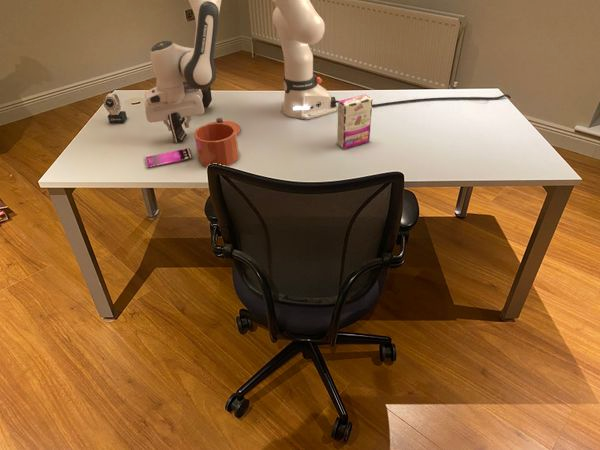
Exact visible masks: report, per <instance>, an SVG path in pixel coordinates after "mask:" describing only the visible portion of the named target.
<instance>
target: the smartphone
mask: <svg viewBox="0 0 600 450" xmlns="http://www.w3.org/2000/svg"><path fill="white" fill-rule="evenodd" d="M192 159H193V155H192V152H191V149H190V148H189V147H187V148H182V149H178V150H177V149H176V150H173V151H168V152H164V153H163V152H162V153H158V154H153V155H149V156H145V160H146V166H147V168H149V169H150V168H154V167H159V166H164V165H168V164H174V163H178V162H183V161H187V160H192Z"/></svg>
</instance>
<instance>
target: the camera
mask: <svg viewBox="0 0 600 450" xmlns="http://www.w3.org/2000/svg"><path fill="white" fill-rule="evenodd" d="M183 86H184V90H188V89H194V88H192V87H190V86H189V85H188V83H187V82H186V81H183ZM201 91H202V94H203V98H202V103H203V106H204V109H208V108H209V107H210V105H211V103H212V101H213V97H212V89H211V86H210V87H208V88H206V89H203V90H201Z"/></svg>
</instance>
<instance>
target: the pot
mask: <svg viewBox="0 0 600 450" xmlns="http://www.w3.org/2000/svg"><path fill="white" fill-rule="evenodd" d="M210 123H211V124H209V123H207V124H204V125H202V126H199V127H198V128H196V129H195V131H194V133H193V136H194V141H195V146H196V147H195V148H196V152H197V158H198V161H199V163H200V164H201V165H203V166H205V167H208V165H209V164H213V163H217V164H221V165H225V166H224V167H227V166H230V165H232V164H234V163H235V162H237V160H238V159H239V155H240V152H239V151H240V150H239V144H238V137H237V136H238V134H237V135H236V129H235V128H234V127H233V126H232V125H230V124H226V123H212V122H210Z"/></svg>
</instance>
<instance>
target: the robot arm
mask: <svg viewBox="0 0 600 450" xmlns="http://www.w3.org/2000/svg"><path fill="white" fill-rule="evenodd" d="M271 1H272V2H273V4H274V5H275V6H276V7H275V8H274V10H273V13H272V23H273V25H274V27H275V29H276V32H277V35H278V39H279V42H280V43H279V44H280V47H281V50H282V55H283V67H284V75H283V91H284V97H283V103H282V104H283V105H282V109H281V111H282V113H283V114H284V115H285V116H287V117H290V118H295V119H296V118H298V119H302V120H308V121H309V120H311V119H314V118H318V117H321V116H325V115H328V114H332V113H334V112H338V105H337V104H338V101H339V100H336V97H335V96H331V94H330V92H329V91H328V90H327V89H326V88H325V87H323V86H322V85H320V84H322V82H323V79H322V78H321V77H319V76H317V75H316V74H314V55H313V52H312V50H311V48H310V45H316V44H318V43H319V42H320V41H321V40H322V39H323V37H324V35H325V32H326V24H325V22H324V19H323V18H322V17H321V16H320V14H318V12H317V11H316V9H315V7H314V6H313V4H312V2H311V0H271ZM188 3H189V5H190V7H191V10H192V13H193V16H194V20H195V35H194V45H193V47H187V46H182V45H180V44H176V43H175V42H173V41H172V40H163V41H159V42H157V43H155V44H153V46H152V47H151V49H150V61H151V67H152V72H153V74H154V77H155V79H156V80H155V86H153V88H150V89H148V90H146V91H145V93H144V98H145V101H144V112H145V116H146V117H145V118H146V121H147V122H148V123H151V124H153V123H158V122H163V125H165V126H166V127H167V130H168V132H172V131H171V127H170V123H169V119H168V115H169V114H170V113H175V112H178V113H179V114H180V117H181V118H183V117H185V118H186V120H185V121H184V123H183V125H184V128H185V129H189V128H190V122H191V120H192V117H195V116H201V115H204V113H205V112H206V111H205V108H204V106H203V103H202V98H203V94H202V91H201V90H203V89H206V88H208V87H210V88H211V86H212V85H213V84H214V83H215V80H216V78H217V77H216V76H217V70H216V66H215V50H216V42H217V35H218V26H219V17H220V11H221V5H222V0H188ZM184 80H185V82H187V83H188V85H189V86H190V87H192V88H194V89H188V90H184V86H183V82H184ZM505 97H506V98H508V99H511V96H510V94H502V95H499V96H490V97H489V96H447V97H445V96H443V97H425V98H413V99H405V100H397V101H396V100H395V101H389V102H381V103H375V104H373V103H372V108H375V107H381V106H388V105H396V104H403V103H413V102H426V101H441V100H442V101H443V100H444V101H445V100H499V99H500V100H501V99H502V98H505Z"/></svg>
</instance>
